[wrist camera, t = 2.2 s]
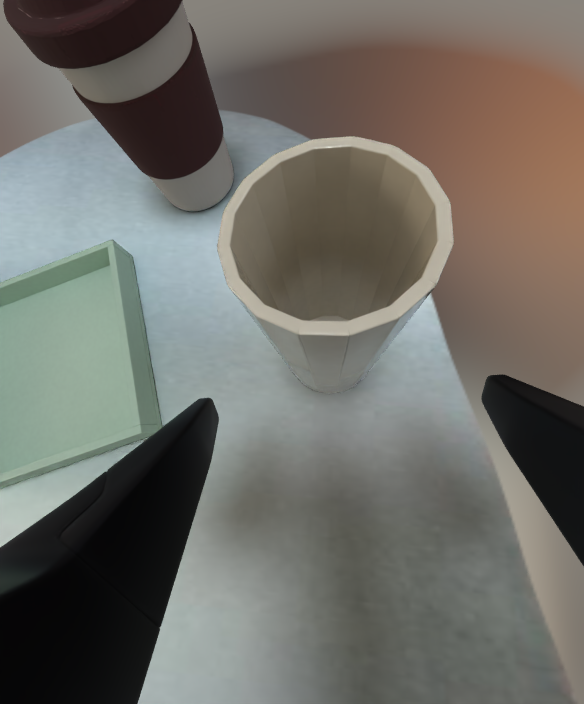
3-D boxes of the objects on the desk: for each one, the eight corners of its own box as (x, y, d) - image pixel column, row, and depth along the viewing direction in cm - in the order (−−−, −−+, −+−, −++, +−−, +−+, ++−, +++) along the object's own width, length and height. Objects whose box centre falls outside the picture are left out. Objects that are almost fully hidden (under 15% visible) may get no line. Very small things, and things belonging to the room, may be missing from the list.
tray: (163, 431, 21) (141, 433, 19) (-9, 491, 22) (-51, 500, 19) (132, 255, 26) (112, 238, 23) (-8, 309, 27) (-41, 298, 24)
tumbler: (385, 377, 20) (502, 281, 6) (303, 405, 20) (251, 370, 7) (352, 303, 22) (391, 107, 8) (278, 330, 22) (197, 183, 8)
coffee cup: (227, 131, 28) (121, -168, 14) (264, 195, 26) (179, -96, 11) (144, 173, 28) (-45, -80, 14) (172, 242, 26) (-30, 12, 11)
